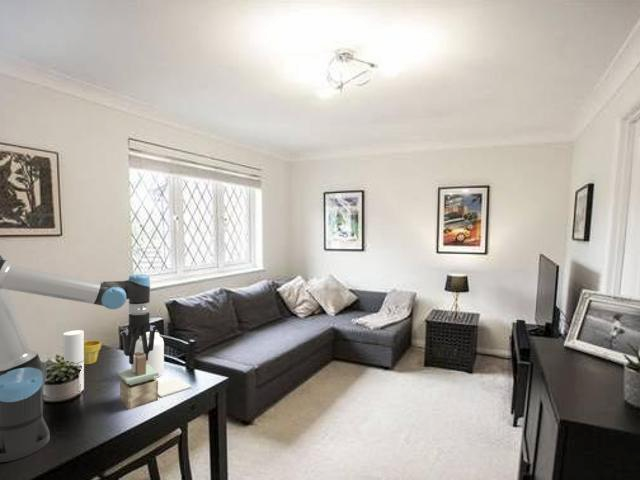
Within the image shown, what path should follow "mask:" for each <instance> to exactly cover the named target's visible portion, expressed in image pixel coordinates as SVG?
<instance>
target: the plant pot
mask: <svg viewBox="0 0 640 480" xmlns="http://www.w3.org/2000/svg"><path fill="white" fill-rule="evenodd" d="M101 348H102V341H100V340H96V339H95V340H93V339H91V340H84V365H91V364H94V363H96V362H97V361H98V357H99V352H100V350H101Z"/></svg>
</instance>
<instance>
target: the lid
mask: <svg viewBox="0 0 640 480" xmlns="http://www.w3.org/2000/svg"><path fill="white" fill-rule="evenodd" d="M134 355H135V356H136V372H133V371H132V364H130V365H131V368H127V369H124V370H119V371H118V372H117V373H118V376H119V377H120V378H121V380H122V379H123V380H124V381H125V382H126V383H127V384H129V385H133V384H137V383H141V382H144V381H148V380H152V379H153V377H155V376H159V373H158V372H157V371H156V370H155V369H154V368H152V367H151V366H150V365H149V364H148V365H146V356H144V355H143V354H142V353H140V352H135V351H134ZM159 377H160V376H159Z"/></svg>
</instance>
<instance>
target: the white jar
mask: <svg viewBox="0 0 640 480" xmlns="http://www.w3.org/2000/svg"><path fill="white" fill-rule="evenodd" d="M149 334H150V331H147V332H146V336H147V337H146V338H147V345H148V344H149ZM138 337H139V338H137V340H136V346H135V351H134V353H135V352H140V353H142V352H144V351H143V345H142V338H141V336H138ZM148 364H149V365H150V366H151V367H152V368H154V369H155V370H156V371H157V372H158V373H159V376H155V377H154V378H155V379H157V378H159V377H161V376H163V374H164V372H165V370H164V369H165V342H164V338H163V337H161V336H160V332H159V331H155V336H154V346H153V350H152V351H149V353H148V360H147V361H146V365H148Z"/></svg>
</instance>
